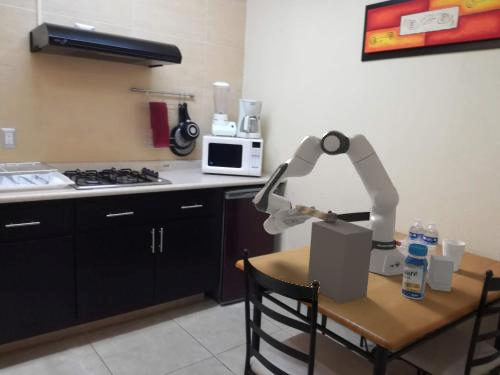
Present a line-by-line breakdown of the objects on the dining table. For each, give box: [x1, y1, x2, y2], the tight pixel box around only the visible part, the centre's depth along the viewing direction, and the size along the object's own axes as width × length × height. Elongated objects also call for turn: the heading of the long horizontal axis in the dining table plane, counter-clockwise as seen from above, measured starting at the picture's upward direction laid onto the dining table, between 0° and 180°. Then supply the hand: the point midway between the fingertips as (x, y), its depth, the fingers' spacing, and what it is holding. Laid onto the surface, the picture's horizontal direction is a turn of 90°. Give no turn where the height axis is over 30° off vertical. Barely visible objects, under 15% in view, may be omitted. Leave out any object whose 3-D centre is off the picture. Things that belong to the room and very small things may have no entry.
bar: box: [294, 204, 338, 223], centre depth 161 cm, size 22×4×3 cm, turn 32°
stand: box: [307, 218, 373, 305], centre depth 151 cm, size 18×14×26 cm
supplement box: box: [426, 254, 454, 292], centre depth 160 cm, size 7×7×13 cm
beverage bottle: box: [400, 243, 429, 300], centre depth 150 cm, size 8×8×20 cm
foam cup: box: [441, 238, 467, 272], centre depth 181 cm, size 10×9×13 cm
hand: (305, 209), depth 166 cm, fingers open, 8 cm apart
